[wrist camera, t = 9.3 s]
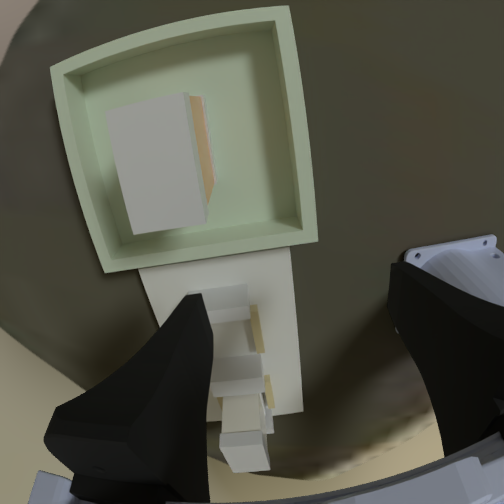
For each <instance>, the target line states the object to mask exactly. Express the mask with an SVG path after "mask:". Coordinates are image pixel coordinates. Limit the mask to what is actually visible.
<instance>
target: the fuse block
mask: <svg viewBox="0 0 504 504" xmlns="http://www.w3.org/2000/svg"><path fill="white" fill-rule="evenodd" d="M138 270H139V273H140V276H141V279H142V282H143V284H144V287H145V290H146V293H147V295H148V298H149V301H150V303H151V306H152V308H153V311H154V314H155V316H156V319H157V321H158V324H159V326H160V327H161V326H162V325H163V323H164V322H165V321H166V320H167V318H168V317H169V316H170V314H171V313H172V312H173V310H174V309H175V308H176V307H177V305H178V304H179V303H180V301H181V300H182V299H183V298H184V296H185V295H189V294H197V293H202V297H203V300H204V304H205V307H206V311H207V314H208V318H209V321H210V324H211V328H212V331H213V340H214V356H213V365H212V373H211V381H210V388H209V396H208V404H207V416H206V422H208V421H222V409H223V397H226V396H237V395H247V394H256V393H263V397H264V402H265V407H266V416H265V423H266V434H270V433H274V427H273V416H275V415H282V414H289V413H296V412H302V411H303V398H302V383H301V369H300V356H299V343H298V331H297V320H296V308H295V298H294V287H293V277H292V267H291V258H290V248H289V246H284V247H277V248H270V249H263V250H257V251H250V252H243V253H236V254H230V255H223V256H216V257H210V258H203V259H196V260H189V261H183V262H176V263H169V264H163V265H156V266H149V267H143V268H139V269H138Z"/></svg>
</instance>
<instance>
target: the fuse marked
mask: <svg viewBox="0 0 504 504" xmlns="http://www.w3.org/2000/svg"><path fill="white" fill-rule="evenodd" d="M105 114H106V120H107V125H108V131H109V136H110V141H111V146H112V150H113V155H114V160H115V164H116V169H117V173H118V177H119V181H120V186H121V190H122V194H123V198H124V202H125V205H126V209H127V213H128V217H129V220H130V224H131V228H132V231H133V235H135V234H142V233H148V232H155V231H161V230H168V229H175V228H181V227H188V226H195V225H202V224H206V223H207V219H208V215H209V210H208V203H209V200H210V197H211V193H212V190H213V187H214V185H215V184H217V182H218V174H217V168H216V162H215V156H214V149H213V143H212V137H211V130H210V124H209V117H208V111H207V104H206V97H205V95H198V96H189V93H187V92H181V93H176V94H171V95H166V96H162V97H157V98H153V99H149V100H145V101H141V102H137V103H133V104H129V105H126V106H122V107H118V108H115V109H111V110H108V111H105Z"/></svg>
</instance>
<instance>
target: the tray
mask: <svg viewBox="0 0 504 504" xmlns="http://www.w3.org/2000/svg"><path fill="white" fill-rule="evenodd" d="M50 71H51V78H52V85H53V91H54V97H55V102H56V108H57V113H58V118H59V123H60V128H61V132H62V137H63V141H64V145H65V150H66V154H67V158H68V162H69V166H70V169H71V173H72V177H73V180H74V184H75V187H76V191H77V194H78V198H79V201H80V204H81V207H82V210H83V214H84V217H85V220H86V223H87V226H88V229H89V232H90V235H91V237H92V240H93V243H94V246H95V249H96V251H97V254H98V257H99V259H100V262H101V265H102V267H103V270H104V272H105V273H109V272H116V271H122V270H129V269H136V268H143V267H149V266H156V265H163V264H169V263H176V262H183V261H189V260H196V259H203V258H210V257H216V256H223V255H230V254H236V253H243V252H250V251H257V250H263V249H270V248H277V247H284V246H290V245H297V244H304V243H311V242H317V241H318V233H317V219H316V206H315V194H314V183H313V172H312V162H311V153H310V144H309V135H308V126H307V118H306V110H305V103H304V95H303V88H302V81H301V74H300V68H299V61H298V55H297V49H296V43H295V37H294V31H293V26H292V20H291V15H290V10H289V6H275V7H264V8H254V9H245V10H238V11H231V12H224V13H218V14H213V15H207V16H202V17H197V18H192V19H188V20H183V21H179V22H175V23H171V24H167V25H163V26H159V27H155V28H152V29H148V30H145V31H141V32H138V33H135V34H132V35H129V36H126V37H123V38H120V39H117V40H114V41H111V42H108V43H106V44H103V45H100V46H98V47H95V48H92V49H90V50H87V51H85V52H83V53H80V54H78V55H75V56H73V57H71V58H69V59H66V60H64V61H62V62H60V63H58V64H56V65H53V66H51V67H50ZM181 92H187V93H189V96H198V95H205V97H206V104H207V111H208V117H209V124H210V130H211V137H212V143H213V149H214V156H215V162H216V168H217V174H218V182H217V184H215V185H214V187H213V190H212V193H211V197H210V200H209V203H208V210H209V215H208V219H207V223H206V224H202V225H195V226H188V227H181V228H175V229H168V230H161V231H155V232H148V233H142V234H135V235H133V231H132V228H131V224H130V220H129V217H128V213H127V209H126V205H125V202H124V198H123V194H122V190H121V186H120V181H119V177H118V173H117V169H116V164H115V160H114V155H113V150H112V146H111V141H110V136H109V131H108V125H107V120H106V114H105V111H108V110H111V109H115V108H118V107H122V106H126V105H129V104H133V103H137V102H141V101H145V100H149V99H153V98H157V97H162V96H166V95H171V94H176V93H181Z"/></svg>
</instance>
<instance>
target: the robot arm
mask: <svg viewBox="0 0 504 504" xmlns="http://www.w3.org/2000/svg"><path fill="white" fill-rule="evenodd" d="M496 239H497V238H496V236H494V235H493V234H491V235H485V236H480V237H475V238H469V239H464V240H458V241H453V242H447V243H442V244H436V245H430V246H425V247H419V248H413V249H409V250H408V251H406V253H405V255H404V261H403V262H397V263H392V264H391V272H390V283H389V293H388V303H387V308H388V310H389V313H390V315H391V318H392V320H393V323H394V325H395V330H396V332H397V333H399V335H400V336H401V338H402V340H403V342H404V344H405V345H406V347H407V349H408V351H409V353H410V354H411V356H412V358H413V360H414V362H415V363H416V365H417V367H418V369H419V371H420V373H421V375H422V378H423V380H424V383H425V385H426V388H427V391H428V394H429V396H430V400H431V403H432V406H433V409H434V412H435V416H436V419H437V423H438V427H439V431H440V435H441V440H442V446H443V451H444V458H442V459H439V460H437V461H434V462H432V463H429V464H426V465H424V466H421V467H418V468H415V469H413V470H410V471H407V472H404V473H401V474H397V475H394V476H391V477H388V478H385V479H381V480H377V481H374V482H370V483H366V484H362V485H358V486H354V487H350V488H345V489H341V490H336V491H331V492H325V493H320V494H315V495H309V496H301V497H294V498H286V499H278V500H267V501H255V502H240V503H238V502H237V503H210V495H209V484H208V468H207V439H206V416H207V404H208V396H209V388H210V381H211V373H212V365H213V356H214V340H213V331H212V328H211V324H210V321H209V318H208V314H207V311H206V307H205V304H204V300H203V297H202V293H197V294H189V295H185V296H184V298H183V299H182V300H181V301H180V303H179V304H178V305H177V307H176V308H175V309H174V310H173V312H172V313H171V314H170V316H169V317H168V318H167V320H166V321H165V322H164V323H163V325H162V326H161V327H160V328H159V329H158V331H157V332H156V333H155V334H154V335H153V336H152V337H151V338H150V340H149V341H148V342H147V343H146V344H145V345H144V346H143V347H142V348H141V349H140V350H139V351H138V352H137V353H136V354H135V355H134V356H133V357H132V358H131V359H130V360H129V361H128V362H126V363H125V364H124V365H123V366H122V367H120V368H119V369H118V370H117V371H115V372H114V373H113V374H111V375H110V376H109V377H108V378H106V379H105V380H103V381H102V382H100V383H99V384H98V385H96V386H95V387H93V388H91V389H90V390H88V391H86V392H85V393H83V394H81V395H80V396H78V397H76V398H74V399H72V400H70V401H68V402H66V403H64V404H62V405H60V406H58V407H56V409H55V411H54V413H53V416H52V418H51V420H50V423H49V426H48V428H47V430H46V433H45V436H44V443H45V445H46V447H47V449H48V450H49V451H50V452H51V453H52V454H53V455H54V456H55V457H56V458H57V459H58V460H59V461H60V462H62V463H63V464H64V465H65V466H66V467H67V468H69V469H70V470H71V471H72V472H73V473H74V476H73V480H72V481H71V480H70V479H68V478H65V477H63V476H59V475H55V474H52V473H48V472H45V471H41V470H40V471H38V473H37V476H36V479H35V482H34V485H33V488H32V491H31V495H30V498H29V501H28V504H504V254H503V253H502V252H501V251H500V250H498V249H497V248H496V247H495V246H496ZM483 242H484V243H483ZM417 253H418V255H417V256H416V257H415V255H416V254H417Z"/></svg>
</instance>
